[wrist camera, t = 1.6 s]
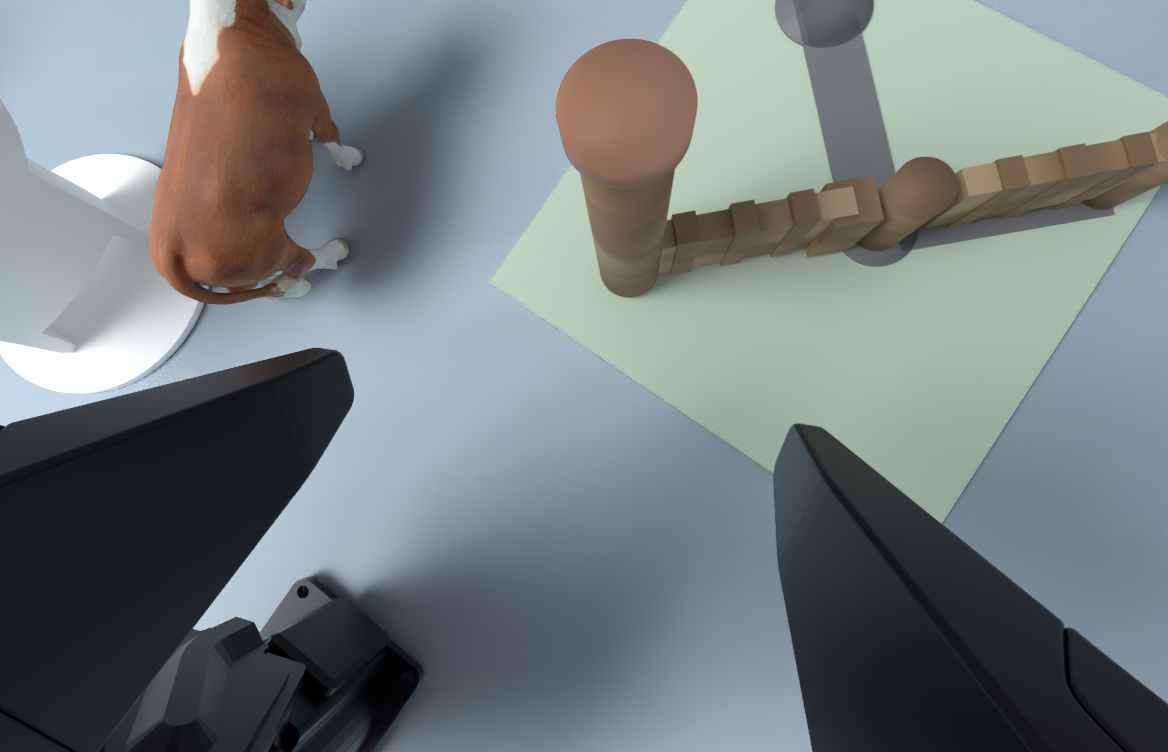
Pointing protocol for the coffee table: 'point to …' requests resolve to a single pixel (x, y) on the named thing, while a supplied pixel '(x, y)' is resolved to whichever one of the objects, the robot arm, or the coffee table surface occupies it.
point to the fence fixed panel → (1018, 185)
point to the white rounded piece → (82, 272)
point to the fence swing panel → (646, 171)
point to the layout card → (855, 276)
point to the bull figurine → (242, 156)
